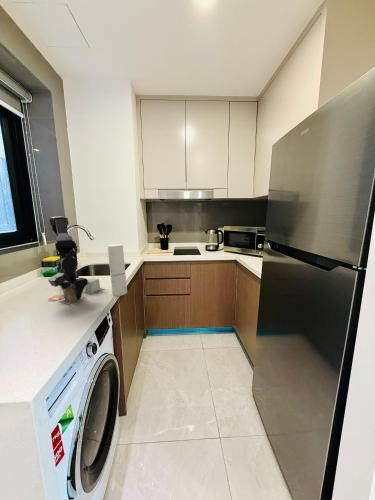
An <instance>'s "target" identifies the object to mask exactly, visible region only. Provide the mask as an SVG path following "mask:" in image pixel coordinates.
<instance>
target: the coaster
mask: <svg viewBox="0 0 375 500" xmlns="http://www.w3.org/2000/svg"><path fill="white" fill-rule="evenodd" d="M62 300H65V298H64V294H57V295H53V296H51V297H48V298H47V301H48V302H57V301H58V302H59V301H62Z"/></svg>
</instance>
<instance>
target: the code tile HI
mask: <svg viewBox="0 0 375 500" xmlns="http://www.w3.org/2000/svg"><path fill="white" fill-rule="evenodd" d="M105 290H106V289H105V288H101V287H100V290H99V291H96V292H94V293H89V292H86V289H84V290H83V292H82V294H85V295H89V296H92V295H94V294H98V293H100V292H103V291H105Z"/></svg>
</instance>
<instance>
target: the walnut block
mask: <svg viewBox="0 0 375 500" xmlns="http://www.w3.org/2000/svg"><path fill="white" fill-rule="evenodd" d="M71 287H72V286H71V285H70V287H68V288H64V289H63V290H62V291H63V295H64V300H65V301H66V302H69V303H72V302H75V301H77V298H76V294H75V290H74V289H72V288H71ZM80 299H81V297H80ZM80 299H79V300H80Z"/></svg>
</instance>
